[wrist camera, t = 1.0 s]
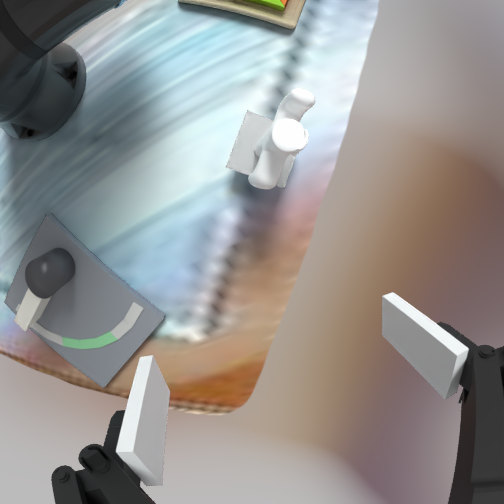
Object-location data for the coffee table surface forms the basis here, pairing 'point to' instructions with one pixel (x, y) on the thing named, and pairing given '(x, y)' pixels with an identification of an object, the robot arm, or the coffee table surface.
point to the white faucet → (272, 142)
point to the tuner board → (86, 308)
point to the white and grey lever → (43, 284)
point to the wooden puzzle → (260, 9)
